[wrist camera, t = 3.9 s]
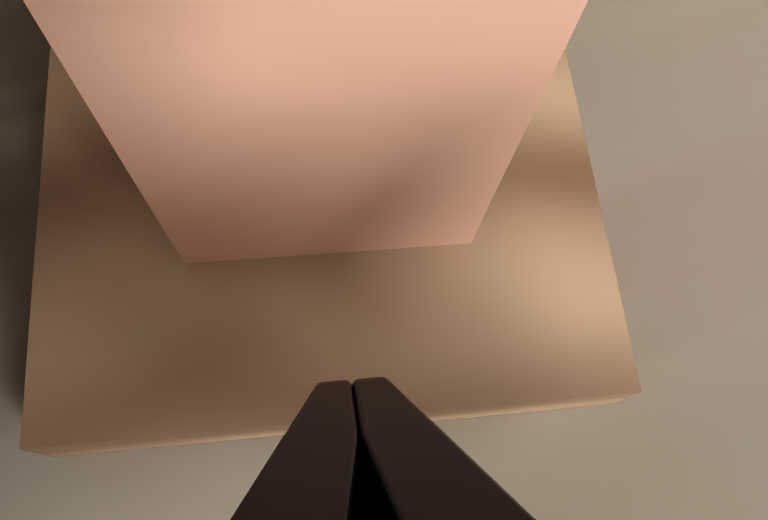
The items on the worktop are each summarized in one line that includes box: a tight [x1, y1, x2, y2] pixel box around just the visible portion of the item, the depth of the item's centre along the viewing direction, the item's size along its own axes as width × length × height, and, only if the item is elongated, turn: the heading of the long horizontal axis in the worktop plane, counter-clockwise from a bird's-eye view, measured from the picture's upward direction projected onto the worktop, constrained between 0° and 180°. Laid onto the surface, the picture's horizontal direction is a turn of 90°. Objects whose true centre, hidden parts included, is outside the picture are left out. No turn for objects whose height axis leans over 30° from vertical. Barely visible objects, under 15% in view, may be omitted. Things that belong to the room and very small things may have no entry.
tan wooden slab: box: [20, 45, 641, 457], centre depth 19 cm, size 12×14×2 cm
